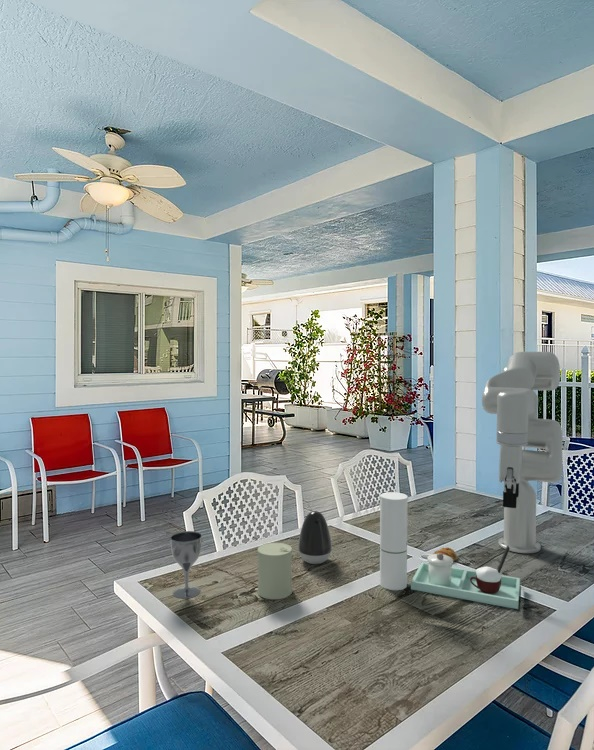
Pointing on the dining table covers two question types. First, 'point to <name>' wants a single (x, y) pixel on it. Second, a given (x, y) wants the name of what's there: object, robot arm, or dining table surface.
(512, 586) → the tray
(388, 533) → the cylindrical container
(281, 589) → the can
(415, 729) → the dining table surface
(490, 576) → the cocoa
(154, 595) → the dining table surface
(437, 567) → the sugar pot
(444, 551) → the pastry
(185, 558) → the wine glass
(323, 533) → the black egg-shaped piece
